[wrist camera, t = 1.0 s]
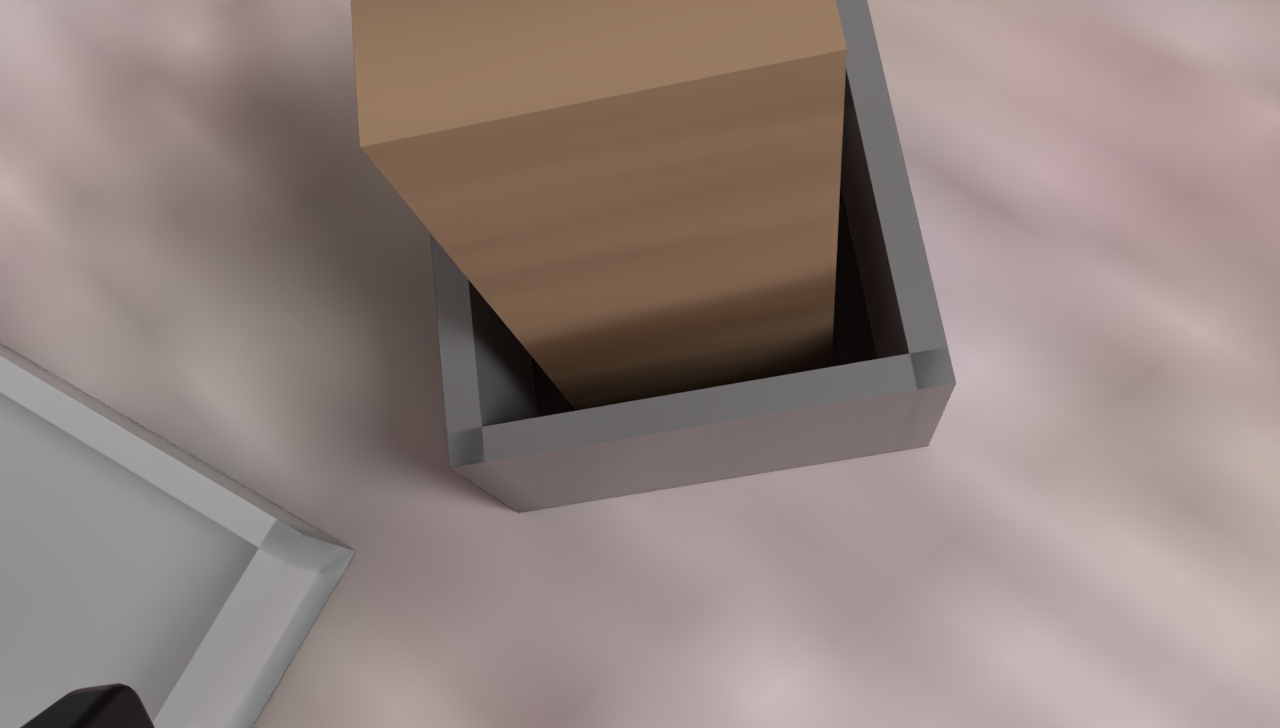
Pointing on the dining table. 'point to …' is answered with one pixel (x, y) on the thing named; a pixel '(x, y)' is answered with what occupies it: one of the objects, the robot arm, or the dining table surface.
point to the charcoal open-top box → (730, 414)
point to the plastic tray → (141, 565)
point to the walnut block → (622, 176)
